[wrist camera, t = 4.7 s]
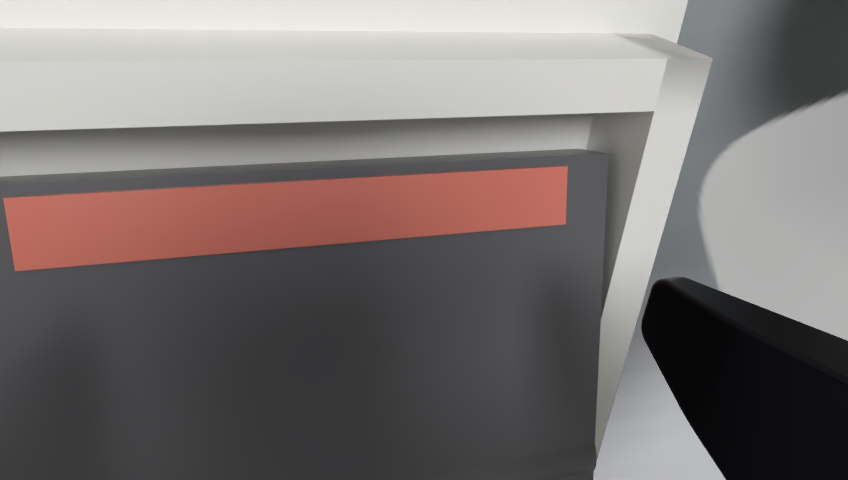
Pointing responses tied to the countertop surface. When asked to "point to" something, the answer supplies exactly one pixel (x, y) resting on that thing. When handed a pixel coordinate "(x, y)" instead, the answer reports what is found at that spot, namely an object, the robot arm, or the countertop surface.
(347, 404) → the panel
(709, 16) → the countertop surface
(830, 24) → the countertop surface
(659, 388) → the countertop surface
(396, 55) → the breaker box
